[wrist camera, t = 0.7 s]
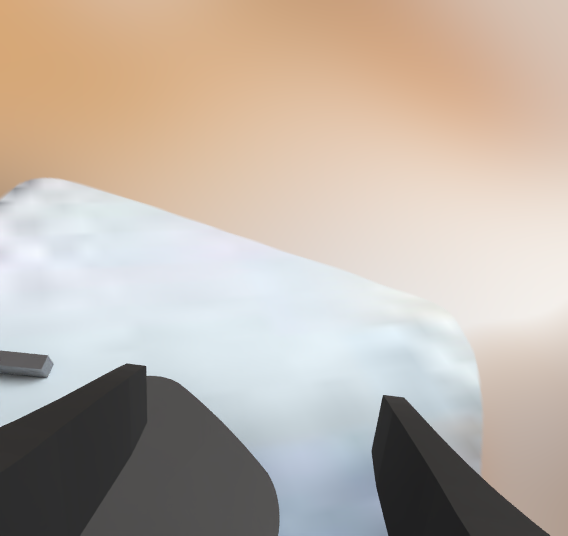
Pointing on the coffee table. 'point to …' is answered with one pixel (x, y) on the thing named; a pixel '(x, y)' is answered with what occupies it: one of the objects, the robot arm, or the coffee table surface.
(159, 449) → the media streaming box
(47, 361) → the teal tray
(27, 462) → the robot arm
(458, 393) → the coffee table surface
